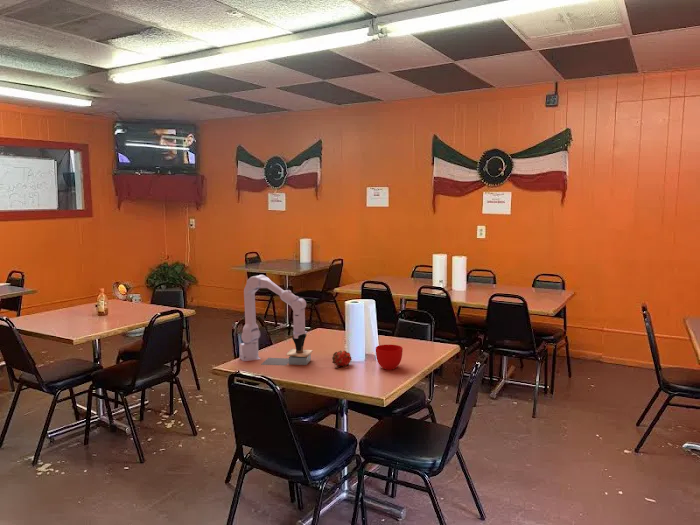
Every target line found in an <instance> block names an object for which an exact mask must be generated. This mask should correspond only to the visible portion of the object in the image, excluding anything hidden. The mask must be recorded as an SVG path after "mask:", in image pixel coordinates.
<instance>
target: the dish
mask: <svg viewBox="0 0 700 525" xmlns="http://www.w3.org/2000/svg"><path fill="white" fill-rule="evenodd" d="M311 355H312V353H311V354H310V355H309V356H308V357H297V356H288V358H289V363H288V365H296V366H297V365H299V366H307V365H308V364H309V363H310V362H311V360H312V356H311Z"/></svg>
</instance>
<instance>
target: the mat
mask: <svg viewBox="0 0 700 525" xmlns="http://www.w3.org/2000/svg"><path fill="white" fill-rule="evenodd" d="M262 365H263V366H264V365H265V366H287V365H289V357H288V358H287V357H286V358H285V357H268V358H266V359H265V360H264V361H263V362H261V363H260V366H262Z"/></svg>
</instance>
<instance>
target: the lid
mask: <svg viewBox="0 0 700 525" xmlns="http://www.w3.org/2000/svg"><path fill="white" fill-rule="evenodd" d="M312 353H313V349H304V346H302V347H301V351H297V350H296V348H291V349H290V350H289V351H288V352H286V354H285V357H290V356H297V357H308V356H309V355H310V354H311V355H312Z"/></svg>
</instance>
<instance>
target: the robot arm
mask: <svg viewBox="0 0 700 525" xmlns="http://www.w3.org/2000/svg"><path fill="white" fill-rule="evenodd" d="M260 289H268V290H270V291H272V292H273V293H275V294H276V295H278V296H279V298H280V300H281V301H282V302H284V303H286V304H287V305H288V306H290V308H291V310H292V311H293V312H292V314H293V319H292V320H293V321H292V322H293V332H292V334H293V336H292V341H293V343H294V346H295V349H296V350H297V351H301V347H302V346H303V347H305V346H304V345H305V341H306V338H307V334H308V331H307V330H306V315H305V314H306V312H305V311H306V307H307V301H306V300H305V299H304V298H303V297H300V296H298V295H295V294H294V293H293V292H292V290H290V289H286V290H284V289H283V288H282V287H280V286H279V285H277V284H276V283H275V282H274V281H272V280H271V279H270V278H269V277H268V276H266V275H264V274H259V275H258V274H257V275H253V276H250V277H249V278H248V279H247V280H246V284H245V286H244V288H243V299H244V301H243V302H244V321H245V324H244V326H243V328H242V333H241V334H240V335H241V336H240V337H241V341H242V342H241V343H239V345H238V346H239V349H238V350H239V357H238V359H239V360H241V361H242V362H248V361H256V360H262V359H261V357H259V339H260V338H261V331H260V329H259V325H258V324H257V317H256V316H257V315H256V313H257V311H256V293H257V292H258V290H260Z"/></svg>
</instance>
